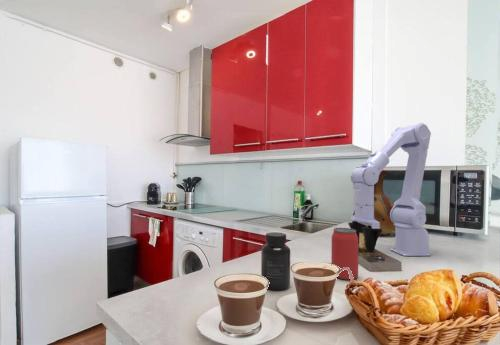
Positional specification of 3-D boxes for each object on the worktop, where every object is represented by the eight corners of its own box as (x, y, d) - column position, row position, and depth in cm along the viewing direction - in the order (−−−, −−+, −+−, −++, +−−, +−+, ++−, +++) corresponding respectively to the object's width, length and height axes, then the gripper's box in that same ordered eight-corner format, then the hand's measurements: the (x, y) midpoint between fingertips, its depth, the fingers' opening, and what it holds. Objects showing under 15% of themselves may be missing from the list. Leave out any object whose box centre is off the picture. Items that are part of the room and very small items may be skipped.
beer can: (355, 282, 65) (355, 233, 65) (328, 277, 68) (328, 230, 69) (360, 274, 70) (360, 229, 71) (335, 269, 74) (335, 226, 74)
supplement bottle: (266, 278, 68) (266, 230, 68) (293, 282, 65) (293, 232, 65) (256, 288, 61) (257, 235, 61) (286, 293, 59) (286, 238, 59)
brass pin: (366, 256, 87) (366, 232, 87) (371, 259, 84) (371, 233, 84) (357, 256, 87) (357, 231, 87) (361, 259, 84) (361, 233, 84)
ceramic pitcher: (404, 233, 126) (404, 169, 126) (391, 240, 111) (391, 168, 112) (362, 227, 139) (362, 170, 140) (345, 233, 125) (345, 168, 125)
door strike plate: (335, 248, 97) (335, 239, 97) (359, 248, 98) (359, 239, 98) (370, 271, 73) (370, 260, 73) (401, 270, 74) (401, 259, 74)
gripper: (342, 202, 93) (342, 241, 92) (363, 207, 78) (363, 253, 78) (362, 202, 93) (362, 241, 93) (386, 207, 79) (386, 253, 78)
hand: (364, 247), depth 85 cm, fingers open, 7 cm apart
